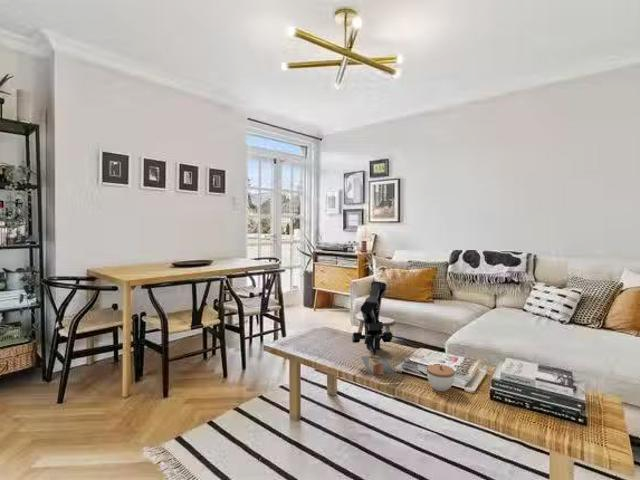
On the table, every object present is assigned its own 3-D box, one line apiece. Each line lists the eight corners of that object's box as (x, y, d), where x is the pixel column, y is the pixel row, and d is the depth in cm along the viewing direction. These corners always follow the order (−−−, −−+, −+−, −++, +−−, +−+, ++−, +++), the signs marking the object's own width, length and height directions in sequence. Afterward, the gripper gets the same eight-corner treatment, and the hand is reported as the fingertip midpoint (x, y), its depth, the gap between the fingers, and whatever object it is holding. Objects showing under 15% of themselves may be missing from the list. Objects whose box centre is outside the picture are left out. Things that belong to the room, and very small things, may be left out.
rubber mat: (384, 356, 183) (384, 355, 183) (395, 373, 163) (395, 372, 163) (360, 357, 183) (360, 356, 183) (368, 374, 163) (368, 373, 163)
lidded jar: (435, 379, 158) (435, 358, 157) (459, 388, 150) (459, 365, 150) (421, 387, 151) (422, 365, 150) (445, 396, 143) (446, 373, 142)
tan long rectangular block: (378, 355, 171) (383, 364, 162) (378, 365, 172) (383, 374, 162) (368, 356, 171) (373, 364, 161) (368, 365, 171) (373, 374, 161)
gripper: (353, 315, 173) (356, 347, 162) (392, 315, 174) (398, 346, 164) (350, 327, 181) (353, 357, 171) (387, 326, 182) (393, 356, 172)
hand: (374, 354), depth 169 cm, fingers closed
